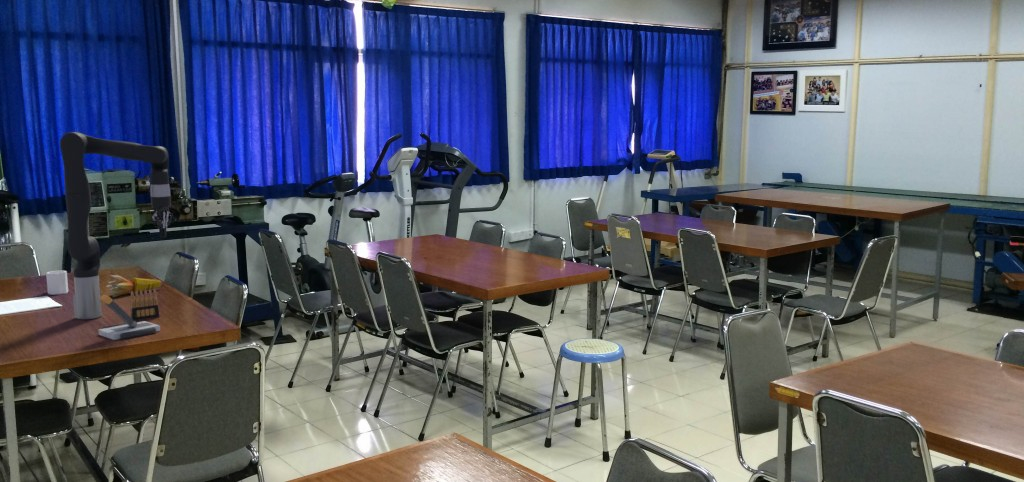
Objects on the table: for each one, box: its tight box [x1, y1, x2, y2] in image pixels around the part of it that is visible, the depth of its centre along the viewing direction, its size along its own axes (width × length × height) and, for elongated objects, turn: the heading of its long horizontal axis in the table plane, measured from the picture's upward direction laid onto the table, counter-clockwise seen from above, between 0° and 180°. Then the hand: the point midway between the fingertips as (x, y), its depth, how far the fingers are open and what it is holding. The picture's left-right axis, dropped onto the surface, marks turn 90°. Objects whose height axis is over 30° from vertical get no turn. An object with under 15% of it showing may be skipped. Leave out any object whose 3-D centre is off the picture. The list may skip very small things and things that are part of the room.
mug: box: [45, 269, 69, 296], centre depth 416 cm, size 12×9×10 cm
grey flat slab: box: [98, 320, 161, 341], centre depth 338 cm, size 18×12×2 cm, turn 139°
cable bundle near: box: [120, 327, 157, 340], centre depth 333 cm, size 13×2×2 cm, turn 139°
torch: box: [106, 274, 162, 298], centre depth 413 cm, size 8×8×25 cm
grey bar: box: [101, 320, 137, 329], centre depth 343 cm, size 13×2×2 cm, turn 139°
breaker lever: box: [99, 294, 137, 327], centre depth 335 cm, size 2×4×16 cm
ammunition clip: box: [130, 288, 160, 321], centre depth 361 cm, size 11×2×12 cm, turn 128°
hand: (163, 237), depth 367 cm, fingers closed
